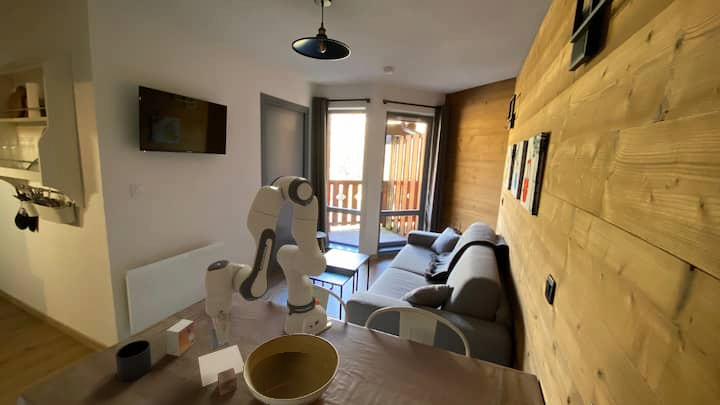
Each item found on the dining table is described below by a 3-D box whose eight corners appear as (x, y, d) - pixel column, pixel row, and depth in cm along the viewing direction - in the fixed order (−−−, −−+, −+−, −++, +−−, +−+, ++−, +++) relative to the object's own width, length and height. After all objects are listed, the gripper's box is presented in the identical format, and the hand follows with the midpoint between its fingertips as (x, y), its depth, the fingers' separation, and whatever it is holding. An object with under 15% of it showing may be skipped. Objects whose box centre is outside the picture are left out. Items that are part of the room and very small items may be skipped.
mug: (132, 358, 103) (130, 336, 101) (158, 364, 100) (156, 342, 99) (104, 377, 93) (102, 354, 92) (132, 384, 91) (130, 361, 90)
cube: (226, 337, 104) (225, 325, 103) (228, 345, 100) (228, 332, 99) (211, 341, 101) (211, 329, 100) (213, 349, 97) (213, 337, 96)
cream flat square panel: (236, 345, 113) (236, 344, 113) (246, 370, 100) (246, 369, 100) (198, 358, 104) (198, 357, 104) (202, 387, 92) (202, 386, 92)
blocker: (233, 380, 96) (233, 367, 95) (236, 390, 92) (236, 377, 91) (218, 386, 93) (217, 373, 92) (220, 396, 89) (220, 383, 88)
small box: (179, 357, 104) (177, 332, 103) (167, 354, 105) (165, 330, 104) (195, 343, 112) (194, 320, 110) (184, 341, 113) (182, 318, 111)
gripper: (234, 316, 92) (234, 353, 94) (224, 291, 108) (224, 322, 110) (213, 322, 88) (214, 360, 90) (206, 295, 104) (207, 327, 106)
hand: (220, 339), depth 100 cm, fingers closed on cube, 5 cm apart
